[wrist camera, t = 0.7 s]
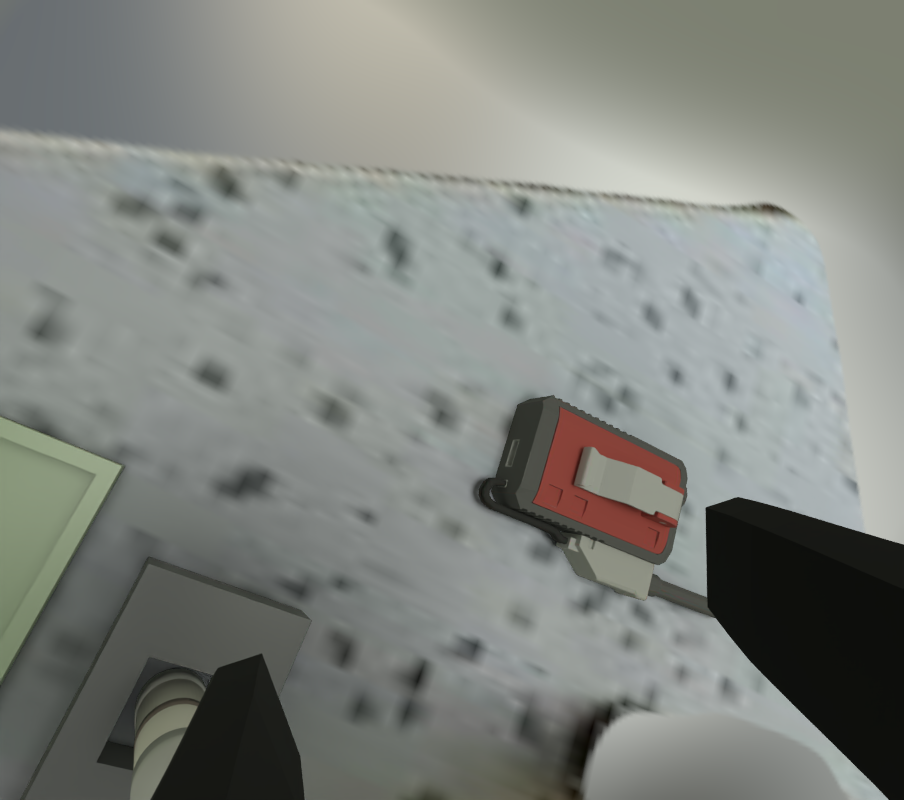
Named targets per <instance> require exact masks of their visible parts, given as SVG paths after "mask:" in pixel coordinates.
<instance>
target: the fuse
mask: <svg viewBox="0 0 904 800" xmlns="http://www.w3.org/2000/svg"><path fill="white" fill-rule="evenodd" d="M205 690H206V686H205V684H204V682H203V680H202V679H201V677H200V676H199V675H197V674H196V673H195V672H193V671H191V670H188V669H183V668H174V669H169V670H166V671H163V672H161V673H159V674H157V675H156V676H154V677H153V678H151V679H150V680H149V681H148V682H147V683H146V684H145V685H144V687H143V688H142V689H141V691H140V693H139V695H138V697H137V700H136V705H135V717H134V725H135V740H134V768H133V773H132V778H131V792H130V800H150V799H151V797H152V796H153V794H154V792H155V790H156V788H157V786H158V784H159V782H160V781H161V779H162V777H163V775H164V773H165V771H166V769H167V767H168V765H169V763H170V761H171V759H172V757H173V755H174V753H175V751H176V749H177V747H178V745H179V743H180V741H181V739H182V737H183V736H184V733H185V731H186V729H187V727H188V725H189V723H190V721H191V719H192V717H193V715H194V713H195V711H196V709H197V707H198V705H199V703H200V701H201V699H202V697H203V694H204V692H205Z"/></svg>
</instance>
